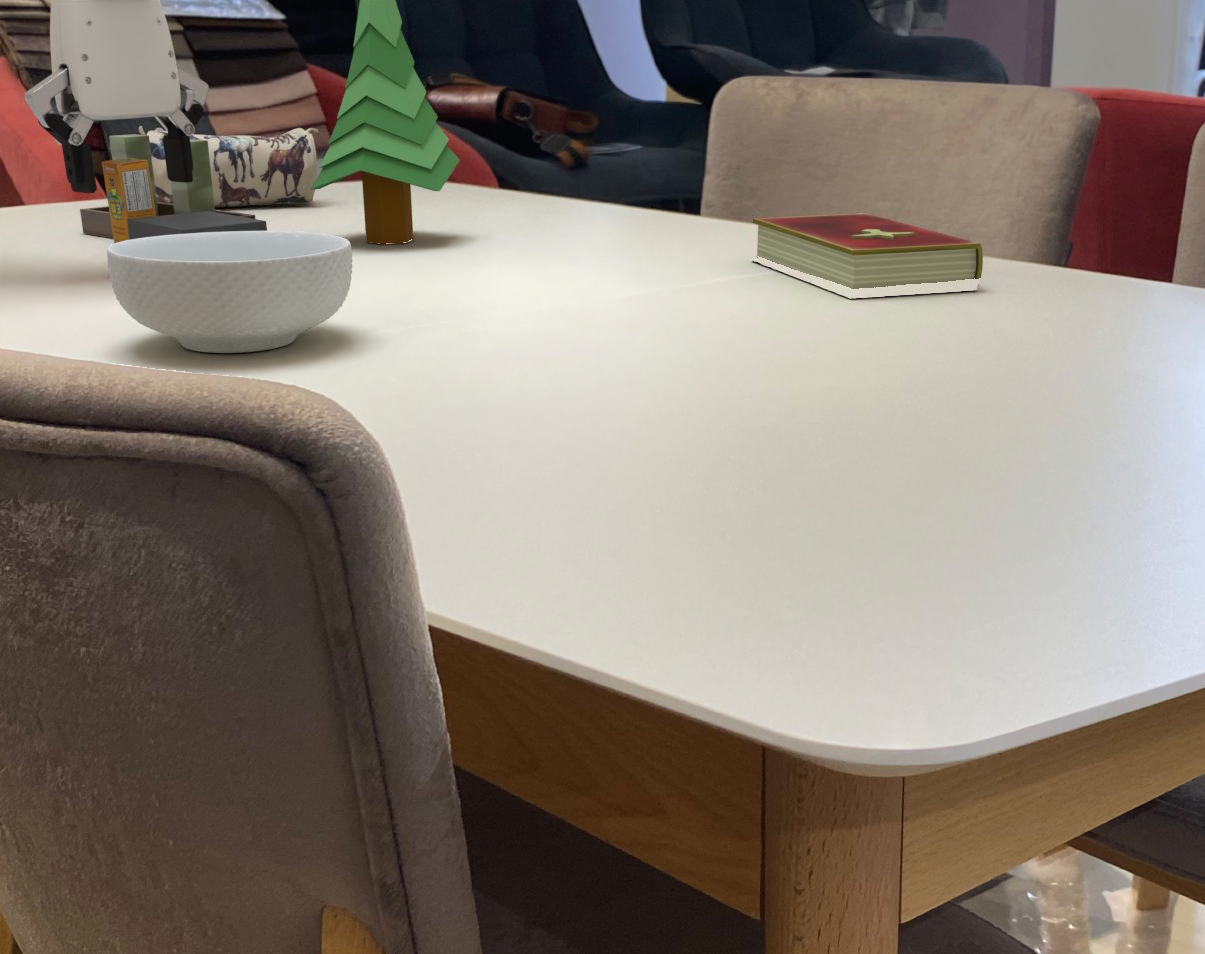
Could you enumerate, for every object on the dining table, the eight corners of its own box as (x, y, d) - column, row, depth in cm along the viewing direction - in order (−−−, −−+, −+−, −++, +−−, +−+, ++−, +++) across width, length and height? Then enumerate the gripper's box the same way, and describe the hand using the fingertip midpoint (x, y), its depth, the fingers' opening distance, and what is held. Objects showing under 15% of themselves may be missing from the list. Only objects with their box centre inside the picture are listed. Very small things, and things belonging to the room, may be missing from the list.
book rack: (181, 250, 146) (169, 145, 142) (83, 233, 158) (69, 136, 154) (257, 240, 152) (248, 139, 148) (157, 224, 164) (146, 131, 160)
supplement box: (113, 273, 133) (98, 159, 129) (148, 268, 135) (134, 157, 131) (131, 277, 130) (117, 162, 127) (166, 272, 133) (152, 159, 129)
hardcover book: (866, 254, 140) (869, 210, 138) (980, 291, 121) (985, 239, 120) (751, 261, 137) (752, 215, 135) (850, 299, 118) (853, 246, 116)
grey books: (197, 297, 121) (190, 231, 119) (125, 282, 128) (117, 219, 126) (290, 282, 127) (284, 219, 125) (216, 269, 134) (210, 209, 132)
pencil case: (142, 214, 173) (131, 128, 169) (142, 206, 180) (132, 124, 176) (327, 207, 178) (320, 124, 174) (320, 199, 186) (313, 119, 182)
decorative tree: (300, 250, 145) (273, -81, 133) (353, 230, 159) (332, -71, 148) (431, 253, 142) (414, -83, 131) (472, 232, 157) (460, -73, 145)
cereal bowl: (393, 351, 101) (387, 247, 98) (151, 379, 93) (137, 268, 90) (312, 312, 114) (304, 220, 112) (95, 334, 107) (82, 236, 104)
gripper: (169, -19, 132) (193, 176, 138) (-14, -19, 120) (22, 194, 126) (216, -22, 127) (239, 180, 133) (31, -23, 115) (66, 199, 122)
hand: (133, 186), depth 130 cm, fingers open, 9 cm apart
